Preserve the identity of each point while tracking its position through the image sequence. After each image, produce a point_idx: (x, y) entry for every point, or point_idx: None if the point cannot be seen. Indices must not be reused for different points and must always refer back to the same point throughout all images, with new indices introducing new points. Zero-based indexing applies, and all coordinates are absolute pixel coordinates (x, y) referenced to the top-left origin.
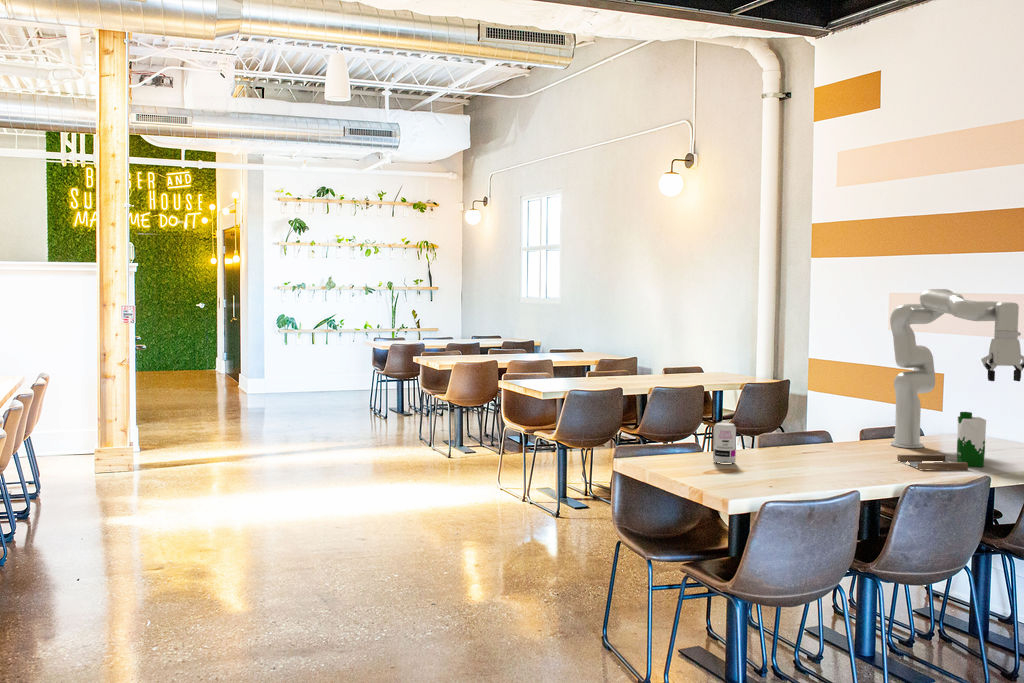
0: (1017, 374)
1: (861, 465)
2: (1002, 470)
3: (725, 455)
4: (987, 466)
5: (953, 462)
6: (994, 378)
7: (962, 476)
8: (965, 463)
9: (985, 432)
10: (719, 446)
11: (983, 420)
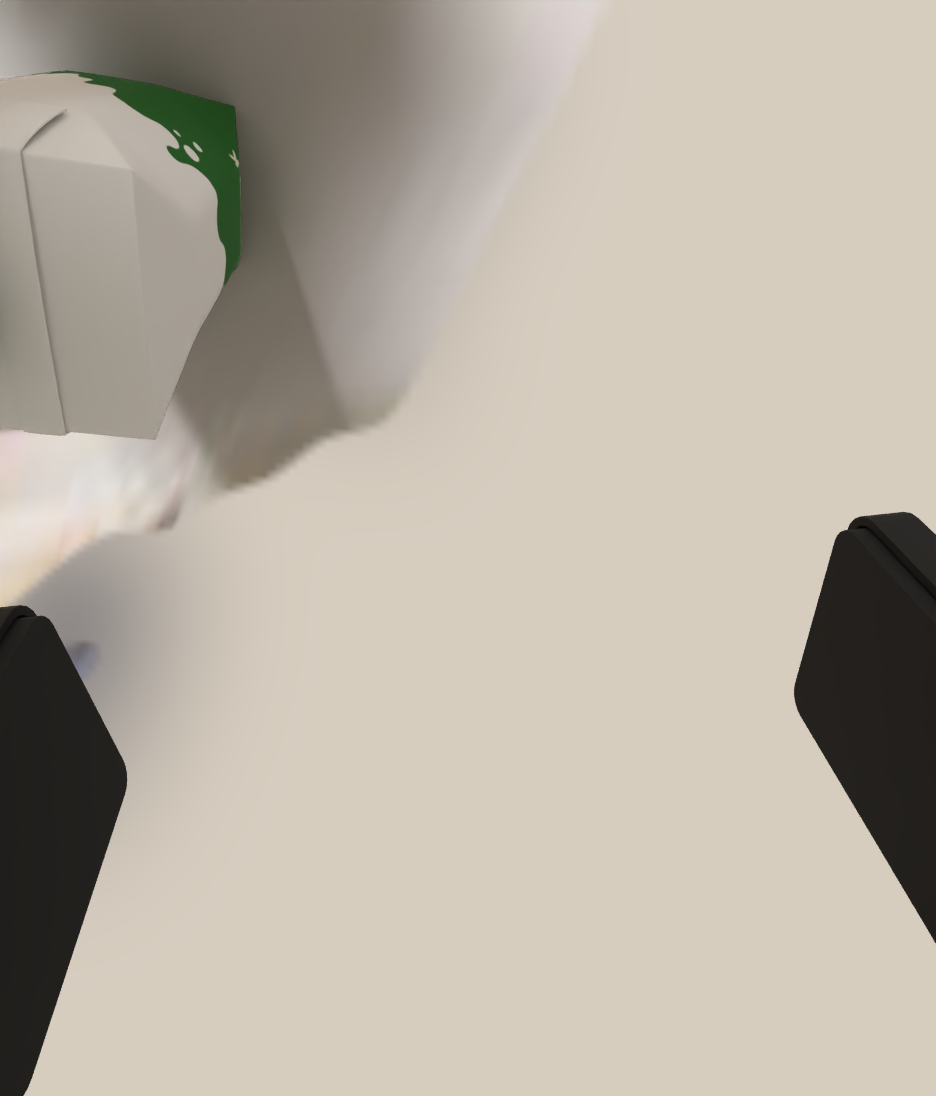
0: (900, 833)
1: None
2: (337, 360)
3: None
4: (282, 224)
5: None
6: (101, 840)
7: (28, 547)
8: None
9: (201, 325)
10: None
11: (123, 435)
